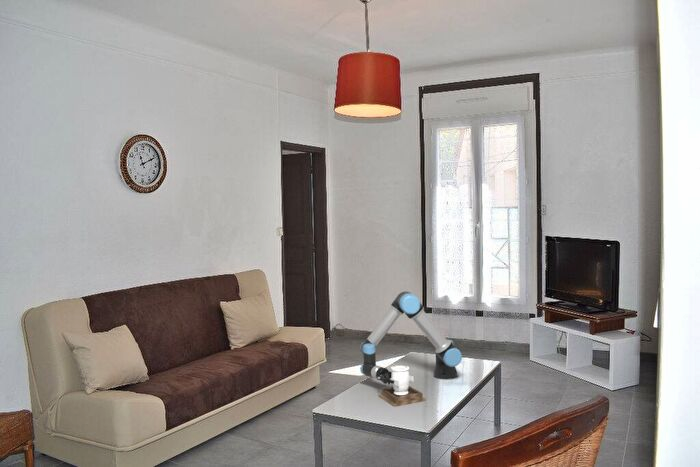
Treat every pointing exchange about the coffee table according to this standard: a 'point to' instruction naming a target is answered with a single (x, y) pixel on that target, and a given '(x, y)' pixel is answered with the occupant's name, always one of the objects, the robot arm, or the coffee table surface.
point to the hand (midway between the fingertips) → (405, 381)
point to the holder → (401, 397)
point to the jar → (400, 379)
